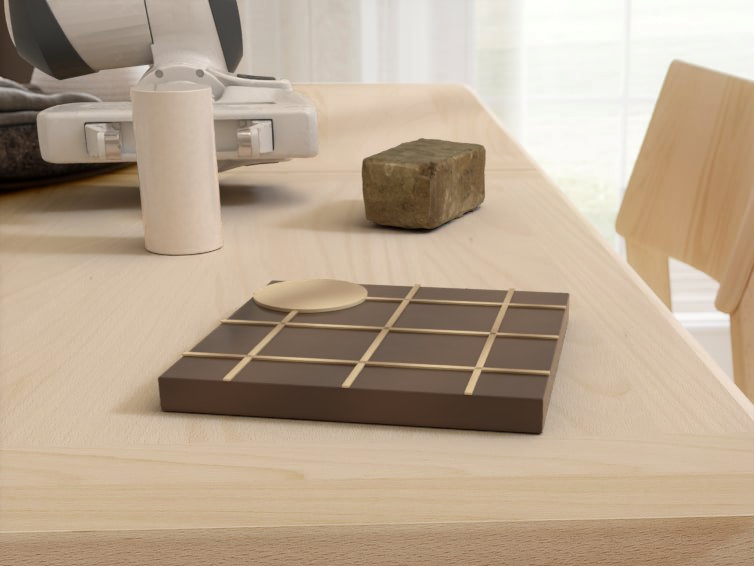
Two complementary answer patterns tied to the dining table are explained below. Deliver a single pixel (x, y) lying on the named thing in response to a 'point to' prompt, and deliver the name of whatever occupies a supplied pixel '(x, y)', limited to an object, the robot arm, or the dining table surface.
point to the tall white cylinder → (177, 167)
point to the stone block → (423, 183)
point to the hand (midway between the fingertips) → (179, 146)
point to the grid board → (378, 356)
